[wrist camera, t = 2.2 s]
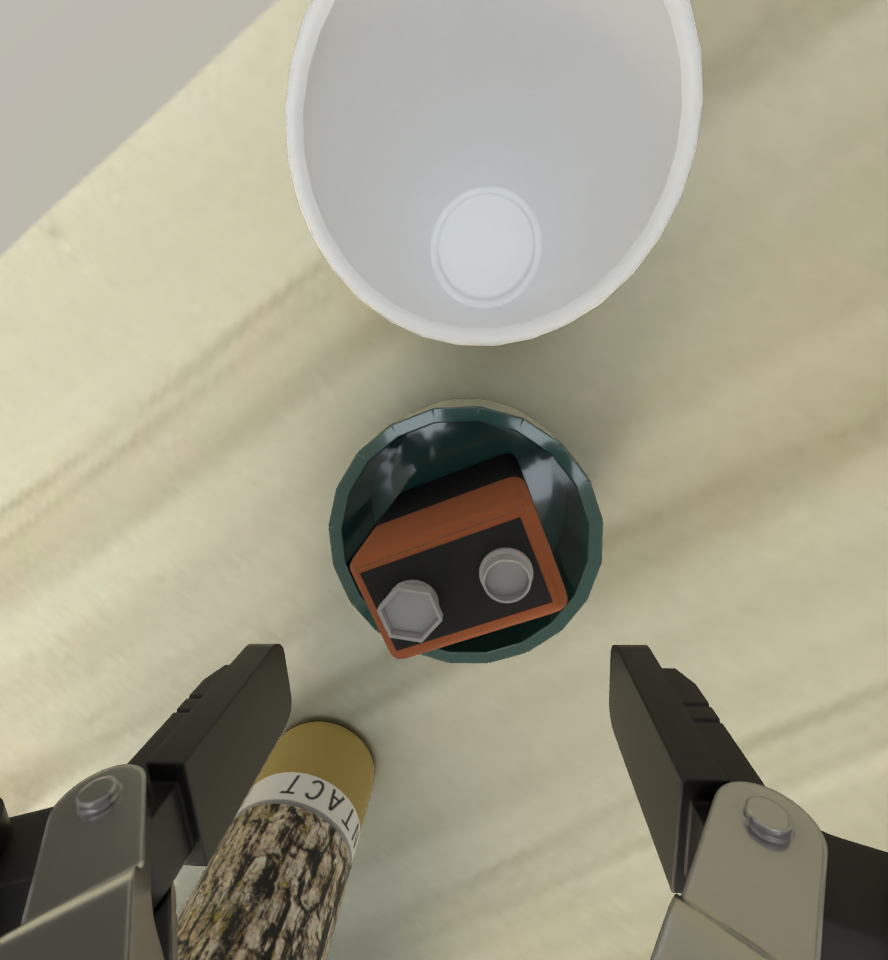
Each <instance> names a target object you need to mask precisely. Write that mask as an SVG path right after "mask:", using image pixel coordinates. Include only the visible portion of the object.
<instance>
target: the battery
mask: <svg viewBox="0 0 888 960" xmlns="http://www.w3.org/2000/svg"><path fill="white" fill-rule="evenodd" d="M350 570H351V572H352V574H353V577H354V579H355V581H356V583H357V585H358V587H359V589H360V591H361V593H362V595H363V597H364V600H365V602H366V604H367V606H368V608H369V610H370V612H371V614H372V616H373V618H374V620H375V623H376V625H377V627H378V629H379V631H380V633H381V635H382V637H383V639H384V641H385V643H386V645H387V648H388V650H389V651H390V653H391V655H392V656H393V657H395V658H397V659H405V658H409V657H412V656H415V655H419V654H422V653H425V652H428V651H432V650H435V649H438V648H441V647H445V646H448V645H451V644H454V643H458V642H461V641H464V640H467V639H471V638H474V637H477V636H480V635H484V634H487V633H490V632H493V631H497V630H500V629H503V628H506V627H510V626H513V625H516V624H519V623H523V622H526V621H529V620H532V619H536V618H539V617H542V616H545V615H548V614H551V613H554V612H557V611H559V610H561V609H563V608H564V607H565V605H566V603H567V593H566V590H565V587H564V584H563V581H562V579H561V576H560V573H559V570H558V568H557V565H556V562H555V559H554V557H553V554H552V551H551V549H550V546H549V543H548V540H547V538H546V535H545V532H544V529H543V527H542V524H541V521H540V518H539V516H538V513H537V510H536V508H535V505H534V502H533V500H532V497H531V495H530V492H529V489H528V487H527V484H526V481H525V479H524V476H523V473H522V471H521V468H520V465H519V463H518V460H517V458H516V457H515V456H514V455H513V454H510V453H506V454H502V455H499V456H496V457H494V458H491V459H488V460H486V461H483V462H480V463H478V464H475V465H472V466H470V467H467V468H464V469H462V470H459V471H457V472H454V473H451V474H449V475H446V476H443V477H441V478H438V479H435V480H433V481H430V482H428V483H425V484H422V485H420V486H417V487H414V488H412V489H409V490H407V491H404V492H402V493H400V494H399V495H398V496H397V497H396V498H395V500H394V501H393V503H392V504H391V506H390V507H389V508H388V510H387V511H386V513H385V514H384V515H383V517H382V518H381V520H380V521H379V522H378V524H377V525H376V527H375V528H374V530H373V531H372V532H371V534H370V535H369V537H368V538H367V539H366V541H365V542H364V544H363V545H362V547H361V548H360V549H359V551H358V552H357V554H356V555H355V556H354V558H353V560H352V561H351V564H350Z"/></svg>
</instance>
